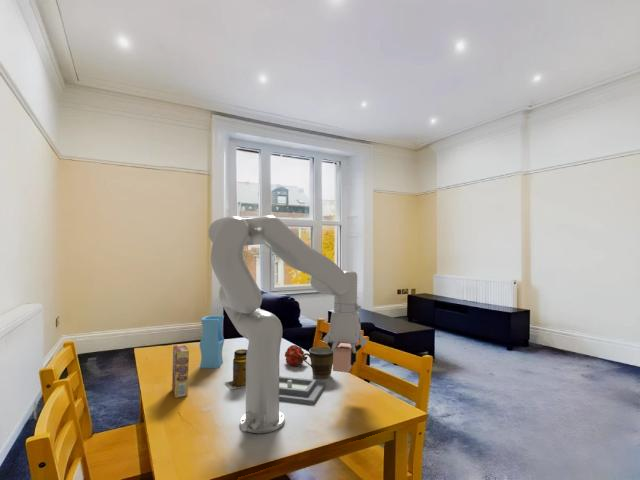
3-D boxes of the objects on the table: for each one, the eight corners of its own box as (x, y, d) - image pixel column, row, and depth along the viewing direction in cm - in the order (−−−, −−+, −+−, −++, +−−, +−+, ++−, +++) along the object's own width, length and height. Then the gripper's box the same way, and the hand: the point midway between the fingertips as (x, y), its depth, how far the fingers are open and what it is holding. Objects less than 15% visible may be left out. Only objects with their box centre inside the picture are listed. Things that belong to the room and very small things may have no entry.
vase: (218, 368, 146) (218, 319, 147) (199, 368, 147) (199, 319, 147) (223, 361, 154) (224, 315, 155) (205, 361, 154) (206, 315, 155)
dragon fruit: (290, 363, 158) (301, 375, 147) (276, 354, 154) (287, 366, 143) (301, 346, 159) (313, 358, 149) (288, 338, 155) (299, 349, 145)
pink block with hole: (348, 372, 111) (348, 353, 111) (332, 370, 112) (333, 351, 112) (354, 361, 122) (354, 343, 123) (340, 359, 124) (340, 342, 124)
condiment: (253, 385, 129) (253, 351, 129) (231, 390, 124) (231, 355, 124) (246, 378, 135) (246, 347, 135) (224, 383, 130) (224, 350, 130)
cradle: (313, 404, 113) (313, 393, 113) (250, 396, 119) (250, 386, 119) (325, 385, 128) (325, 375, 128) (269, 379, 134) (269, 370, 134)
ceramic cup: (328, 370, 144) (328, 345, 145) (338, 378, 135) (338, 352, 135) (298, 374, 140) (298, 348, 140) (306, 383, 130) (306, 356, 131)
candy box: (189, 395, 119) (189, 350, 120) (175, 398, 117) (175, 352, 117) (184, 386, 127) (185, 343, 127) (171, 389, 125) (172, 345, 125)
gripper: (372, 308, 119) (371, 362, 119) (323, 304, 124) (322, 357, 123) (369, 311, 112) (368, 369, 111) (317, 308, 116) (316, 364, 116)
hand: (344, 362), depth 117 cm, fingers closed on pink block with hole, 5 cm apart
